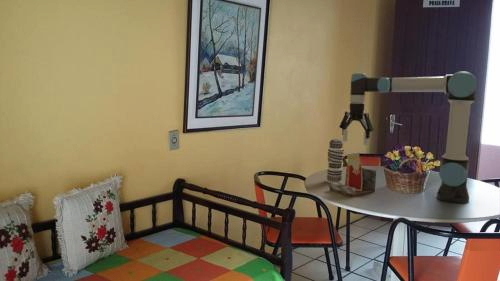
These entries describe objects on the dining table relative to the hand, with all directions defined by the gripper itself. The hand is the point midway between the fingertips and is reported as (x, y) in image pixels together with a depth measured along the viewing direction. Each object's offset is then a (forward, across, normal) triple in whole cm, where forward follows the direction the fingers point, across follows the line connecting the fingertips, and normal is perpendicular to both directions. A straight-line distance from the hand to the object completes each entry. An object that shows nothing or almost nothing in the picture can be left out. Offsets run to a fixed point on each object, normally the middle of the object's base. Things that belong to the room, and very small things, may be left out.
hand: (355, 143), depth 230 cm
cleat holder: (+26, 0, 0) cm, 26 cm away
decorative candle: (+27, +20, -9) cm, 35 cm away
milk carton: (+25, 0, 0) cm, 25 cm away
